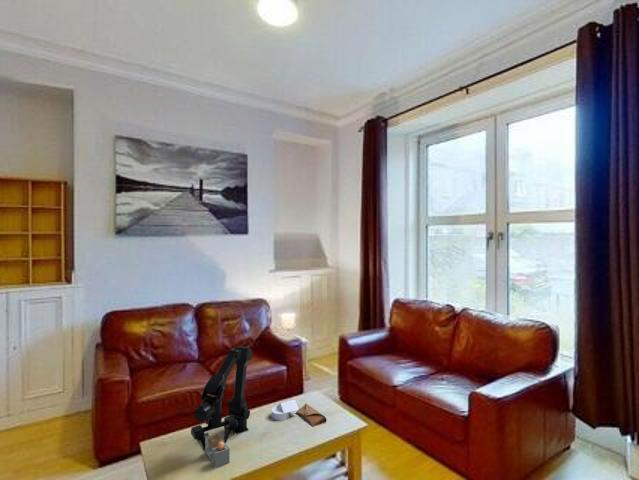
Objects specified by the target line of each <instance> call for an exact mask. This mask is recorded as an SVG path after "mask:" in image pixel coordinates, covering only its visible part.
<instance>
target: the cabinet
mask: <svg viewBox="0 0 639 480" xmlns="http://www.w3.org/2000/svg"><path fill="white" fill-rule="evenodd" d="M230 456H231V455H230V447H229V445H228V444H227V443H224V447H223V450H222V451H218V447H216V448H213V449H212V459H211V464H212V465H213V467H214V468H215V469H217V468H220V467H222V466H224V465H225V466H226V465H228V464H230V458H231V457H230Z"/></svg>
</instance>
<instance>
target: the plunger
mask: <svg viewBox="0 0 639 480" xmlns="http://www.w3.org/2000/svg"><path fill="white" fill-rule="evenodd" d="M224 444H225V443H224V440H221V441H220V442H218V451H222V450H223V447H224Z"/></svg>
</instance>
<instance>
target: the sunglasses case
mask: <svg viewBox="0 0 639 480" xmlns="http://www.w3.org/2000/svg"><path fill="white" fill-rule="evenodd" d="M297 414H298V415H297ZM295 415H297V416H299V417H300V416H301V417H300V418H302V419H303V418H304V419H305V420H304V419H303V420H304V421H306V422H307V423H308V424H309V423H310V424H311V427H316V426H319V425H320V426H321V425H322V423H323V424H325V423H324V422H326V423H327V417H326V416H325V415H323V414H322V413H321V412H319V411H318V410H316V409H315V408H313V407H312V406H310V405H308V403H305V404H304V405H302V406H301V407H300V408H299V410H296V413H295Z"/></svg>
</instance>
